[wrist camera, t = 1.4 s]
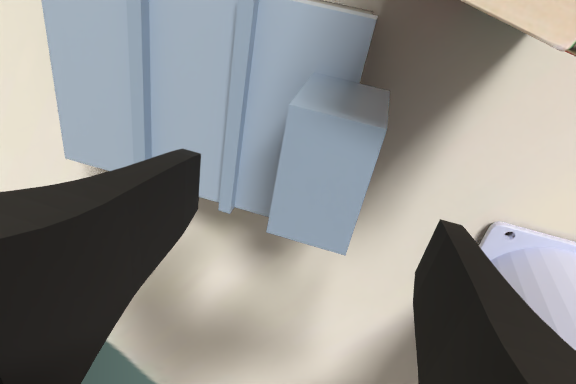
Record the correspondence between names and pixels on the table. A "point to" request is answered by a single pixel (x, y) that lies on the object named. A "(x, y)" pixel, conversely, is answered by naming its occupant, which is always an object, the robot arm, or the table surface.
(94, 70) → the lid
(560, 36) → the stack of blocks
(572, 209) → the table surface
